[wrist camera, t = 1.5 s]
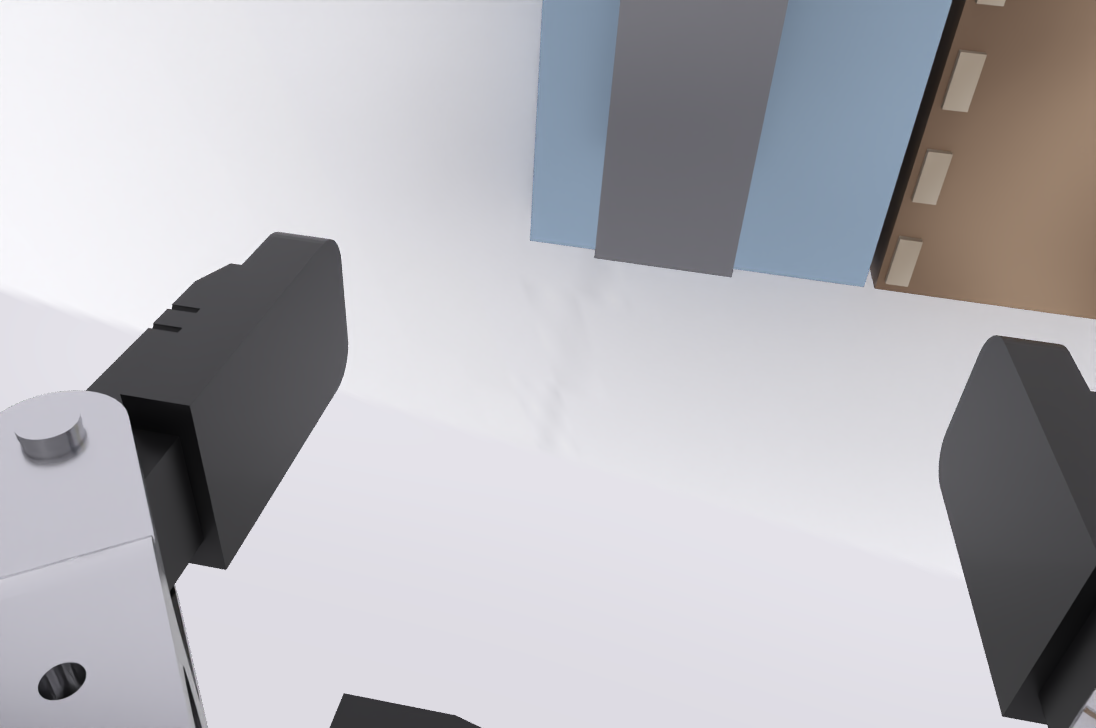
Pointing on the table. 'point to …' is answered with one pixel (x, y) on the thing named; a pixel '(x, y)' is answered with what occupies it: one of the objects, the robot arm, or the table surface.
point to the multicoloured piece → (728, 129)
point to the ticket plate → (1001, 163)
